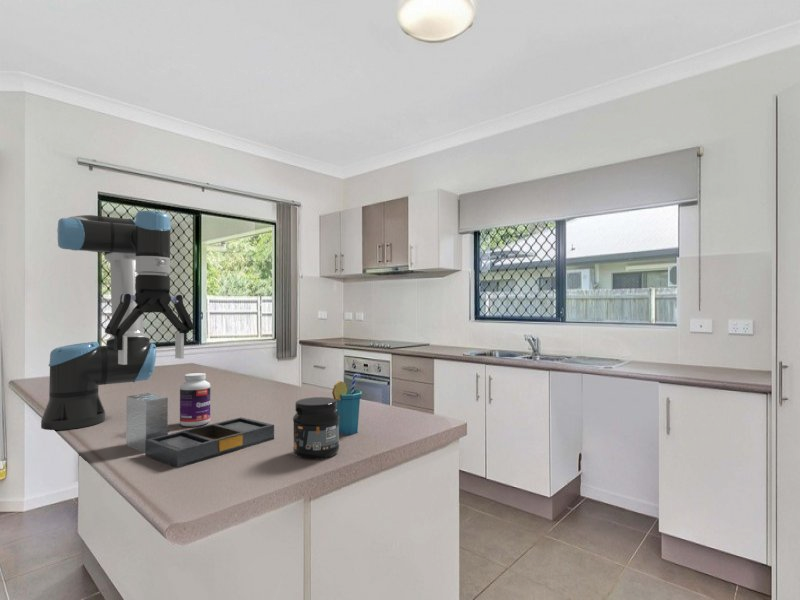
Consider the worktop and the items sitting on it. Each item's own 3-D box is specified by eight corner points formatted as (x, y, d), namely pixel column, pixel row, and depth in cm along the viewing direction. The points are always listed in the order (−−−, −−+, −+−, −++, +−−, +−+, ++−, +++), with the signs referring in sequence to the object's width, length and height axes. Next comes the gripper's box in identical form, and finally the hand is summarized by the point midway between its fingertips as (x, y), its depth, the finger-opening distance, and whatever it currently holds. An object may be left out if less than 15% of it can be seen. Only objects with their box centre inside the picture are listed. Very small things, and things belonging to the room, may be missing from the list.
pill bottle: (198, 428, 123) (198, 376, 124) (173, 427, 125) (173, 376, 125) (216, 421, 131) (216, 372, 132) (192, 419, 133) (192, 371, 133)
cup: (348, 423, 128) (347, 371, 128) (372, 425, 125) (372, 372, 126) (324, 436, 115) (324, 378, 115) (351, 439, 112) (351, 380, 112)
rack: (145, 455, 101) (145, 439, 101) (241, 430, 121) (241, 417, 121) (177, 468, 92) (178, 451, 93) (274, 439, 113) (274, 425, 113)
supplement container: (299, 446, 107) (299, 396, 108) (342, 446, 107) (342, 396, 107) (287, 461, 97) (287, 406, 97) (335, 461, 96) (334, 406, 97)
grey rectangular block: (126, 445, 109) (126, 396, 109) (147, 440, 113) (147, 393, 113) (145, 452, 103) (145, 401, 103) (167, 447, 107) (167, 397, 107)
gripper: (103, 271, 96) (102, 368, 96) (208, 277, 117) (208, 357, 117) (88, 272, 101) (87, 365, 100) (192, 277, 121) (192, 355, 121)
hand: (152, 361), depth 109 cm, fingers open, 13 cm apart
